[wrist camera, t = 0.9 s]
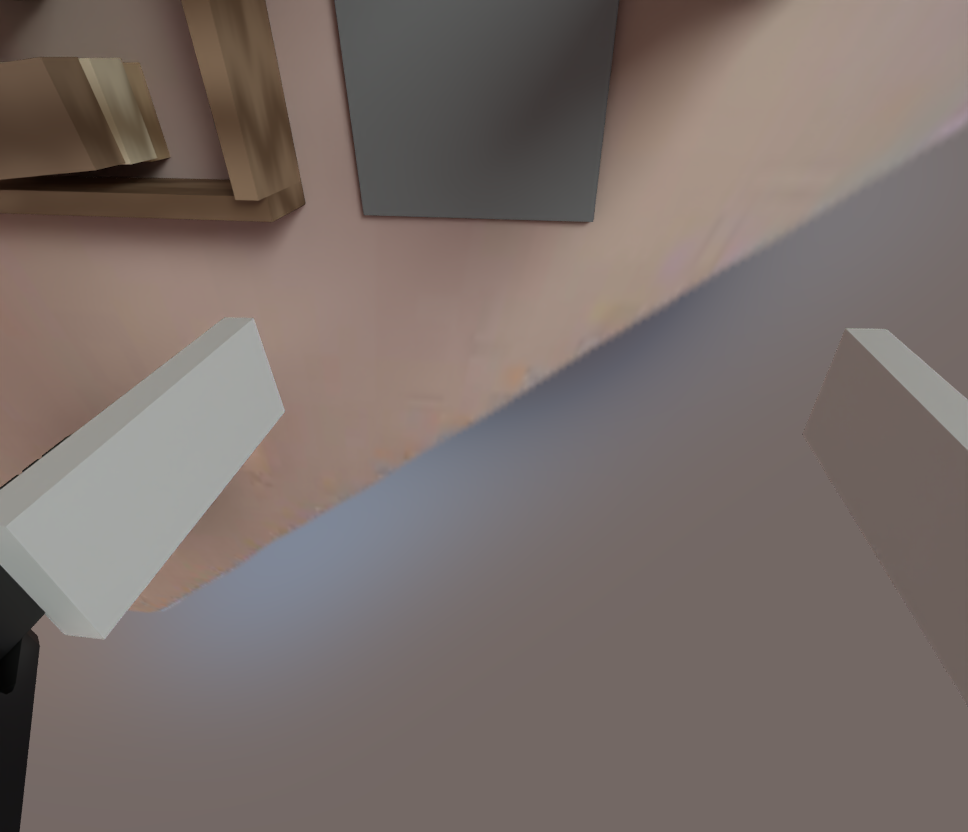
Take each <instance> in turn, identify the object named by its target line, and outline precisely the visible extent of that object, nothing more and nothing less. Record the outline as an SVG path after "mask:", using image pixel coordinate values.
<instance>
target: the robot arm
mask: <svg viewBox="0 0 968 832" xmlns="http://www.w3.org/2000/svg"><path fill="white" fill-rule="evenodd" d="M284 412H285V410H284V407H283V404H282V401H281V398H280V395H279V392H278V389H277V386H276V383H275V380H274V377H273V374H272V371H271V368H270V365H269V362H268V359H267V356H266V354H265V351H264V348H263V345H262V342H261V339H260V336H259V333H258V330H257V327H256V324H255V321H254V318H223V319H222V320H221V321H219V322H218V323H217V324H215V325H214V326H213V327H212V328H210V329H209V330H208V331H206V332H205V333H204V334H202V335H201V336H200V337H198V338H197V339H196V340H195V341H193V342H192V343H191V344H189V345H188V346H187V347H185V348H184V349H183V350H182V351H180V352H179V353H178V354H176V355H175V356H174V357H172V358H171V359H170V360H169V361H167V362H166V363H165V364H163V365H162V366H161V367H159V368H158V369H157V370H156V371H154V372H153V373H152V374H150V375H149V376H148V377H146V378H145V379H144V380H142V381H141V382H140V383H139V384H137V385H136V386H135V387H133V388H132V389H131V390H129V391H128V392H127V393H126V394H124V395H123V396H122V397H120V398H119V399H118V400H116V401H115V402H114V403H113V404H111V405H110V406H109V407H107V408H106V409H105V410H103V411H102V412H101V413H100V414H98V415H97V416H96V417H94V418H93V419H92V420H90V421H89V422H88V423H87V424H85V425H84V426H83V427H81V428H80V429H79V430H77V431H76V432H75V433H73V434H72V435H70V436H68V437H66V438H65V439H63V440H62V441H61V442H59V443H58V444H57V445H55V446H54V447H53V448H51V449H50V450H49V451H48V452H46V453H45V454H44V455H42V458H41V459H37V460H36V461H34V462H33V463H32V464H31V465H29V466H28V467H27V468H25V469H24V470H23V471H22V472H23V473H21V474H20V475H16V476H15V477H14V478H12V479H11V480H10V481H8V482H7V483H6V484H4V485H3V486H2V487H0V832H19V831H20V822H21V813H22V804H23V795H24V786H25V776H26V767H27V758H28V749H29V740H30V730H31V721H32V712H33V703H34V692H35V684H36V675H37V666H38V657H39V647H40V645H39V640H38V636H37V635H36V634H35V633H34V632H33V631H32V630H31V628H32V627H33V626H34V625H35V624H36V622H37V621H38V620H39V619H40V618H41V617H42V616H43V615H44V614H45V615H46V616H47V617H48V618H49V619H50V620H51V621H52V622H53V623H54V624H55V625H56V626H57V627H58V628H59V629H60V631H61V632H62V633H63V634H65V635H72V636H80V637H89V638H98V639H105V638H106V637H107V635H108V634H109V633H110V632H111V630H112V629H113V628H114V627H115V625H116V624H117V623H118V622H119V620H120V619H121V618H122V617H123V615H124V614H125V613H126V612H127V610H128V609H129V608H130V607H131V605H132V604H133V603H134V601H135V600H136V599H137V598H138V596H139V595H140V594H141V593H142V591H143V590H144V589H145V588H146V586H147V585H148V584H149V583H150V581H151V580H152V579H153V578H154V576H155V575H156V574H157V572H158V571H159V570H160V569H161V567H162V566H163V565H164V564H165V562H166V561H167V560H168V559H169V557H170V556H171V555H172V554H173V552H174V551H175V550H176V548H177V547H178V546H179V545H180V543H181V542H182V541H183V540H184V538H185V537H186V536H187V535H188V533H189V532H190V531H191V530H192V528H193V527H194V526H195V525H196V523H197V522H198V521H199V519H200V518H201V517H202V516H203V514H204V513H205V512H206V511H207V509H208V508H209V507H210V506H211V504H212V503H213V502H214V501H215V499H216V498H217V497H218V495H219V494H220V493H221V492H222V490H223V489H224V488H225V487H226V485H227V484H228V483H229V482H230V480H231V479H232V478H233V477H234V475H235V474H236V473H237V472H238V470H239V469H240V468H241V466H242V465H243V464H244V463H245V461H246V460H247V459H248V458H249V456H250V455H251V454H252V453H253V451H254V450H255V449H256V448H257V446H258V445H259V444H260V442H261V441H262V440H263V439H264V437H265V436H266V435H267V434H268V432H269V431H270V430H271V429H272V427H273V426H274V425H275V424H276V422H277V421H278V420H279V419H280V417H281V416H282V415H283V413H284ZM802 435H803V437H804V438H805V440H806V442H807V443H808V445H809V447H810V448H811V450H812V451H813V453H814V455H815V456H816V458H817V460H818V461H819V463H820V465H821V466H822V468H823V470H824V471H825V473H826V475H827V476H828V478H829V479H830V481H831V483H832V484H833V486H834V488H835V489H836V491H837V493H838V494H839V496H840V498H841V499H842V501H843V502H844V504H845V506H846V507H847V509H848V510H849V512H850V514H851V516H852V517H853V519H854V520H855V522H856V524H857V525H858V527H859V528H860V530H861V532H862V533H863V535H864V537H865V539H866V540H867V542H868V544H869V545H870V546H871V548H872V550H873V552H874V553H875V555H876V557H877V558H878V560H879V562H880V563H881V565H882V566H883V568H884V570H885V571H886V573H887V575H888V576H889V578H890V580H891V581H892V583H893V584H894V586H895V588H896V590H897V591H898V593H899V594H900V596H901V598H902V599H903V601H904V603H905V604H906V606H907V608H908V609H909V611H910V612H911V614H912V615H913V617H914V619H915V620H916V622H917V624H918V626H919V627H920V629H921V631H922V632H923V634H924V636H925V637H926V639H927V640H928V642H929V644H930V645H931V647H932V649H933V650H934V652H935V653H936V655H937V657H938V659H939V660H940V662H941V663H942V665H943V667H944V668H945V670H946V672H947V673H948V675H949V677H950V678H951V680H952V681H953V683H954V685H955V686H956V688H957V690H958V691H959V693H960V695H961V696H962V698H963V700H964V701H965V703H966V705H967V706H968V400H967V399H966V398H965V397H964V396H963V395H962V394H960V393H959V392H958V391H957V390H956V389H955V388H954V387H952V386H951V385H950V384H949V383H948V382H947V381H946V380H944V379H943V378H942V377H941V376H940V375H938V373H936V372H935V371H934V370H933V369H932V368H931V367H929V366H928V365H927V364H926V363H925V362H924V361H923V360H922V359H920V358H919V357H918V356H917V355H916V354H915V353H914V352H912V351H911V350H910V349H909V348H908V347H907V346H905V345H904V344H903V343H902V342H901V341H900V340H898V339H897V338H896V337H895V336H894V335H893V334H892V333H891V332H889V331H888V330H887V329H859V328H857V329H856V328H846V329H845V331H844V333H843V336H842V338H841V341H840V343H839V345H838V348H837V350H836V353H835V355H834V358H833V360H832V363H831V365H830V367H829V370H828V372H827V375H826V377H825V380H824V382H823V385H822V387H821V390H820V392H819V394H818V397H817V399H816V402H815V404H814V407H813V409H812V412H811V414H810V416H809V419H808V421H807V424H806V426H805V429H804V431H803V434H802Z"/></svg>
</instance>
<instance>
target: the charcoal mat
mask: <svg viewBox="0 0 968 832" xmlns="http://www.w3.org/2000/svg"><path fill="white" fill-rule="evenodd" d="M334 1H335V8H336V15H337V23H338V30H339V37H340V45H341V52H342V59H343V67H344V74H345V81H346V88H347V96H348V103H349V110H350V118H351V125H352V132H353V140H354V147H355V154H356V162H357V169H358V176H359V183H360V191H361V198H362V205H363V213H364V215H380V216H413V217H447V218H480V219H513V220H547V221H580V222H593V219H594V211H595V202H596V194H597V185H598V177H599V168H600V159H601V151H602V142H603V134H604V125H605V117H606V108H607V99H608V91H609V82H610V74H611V65H612V57H613V48H614V39H615V31H616V22H617V14H618V5H619V0H334Z"/></svg>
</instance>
